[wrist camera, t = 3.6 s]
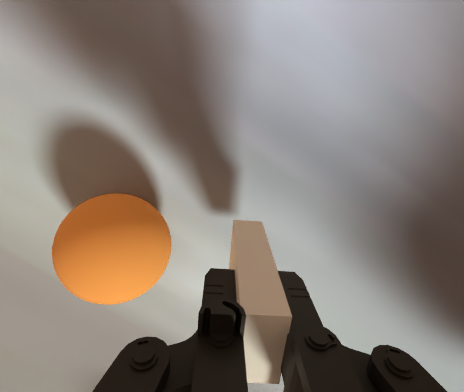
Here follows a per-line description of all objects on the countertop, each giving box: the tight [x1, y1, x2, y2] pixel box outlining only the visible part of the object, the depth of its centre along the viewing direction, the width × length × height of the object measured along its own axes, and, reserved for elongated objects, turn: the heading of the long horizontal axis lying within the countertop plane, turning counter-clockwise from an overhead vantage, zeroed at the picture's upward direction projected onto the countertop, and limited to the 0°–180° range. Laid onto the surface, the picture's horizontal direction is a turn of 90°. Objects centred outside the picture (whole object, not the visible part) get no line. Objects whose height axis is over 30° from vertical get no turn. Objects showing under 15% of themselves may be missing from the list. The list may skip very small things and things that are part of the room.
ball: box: [52, 194, 171, 304], centre depth 14 cm, size 6×6×6 cm
